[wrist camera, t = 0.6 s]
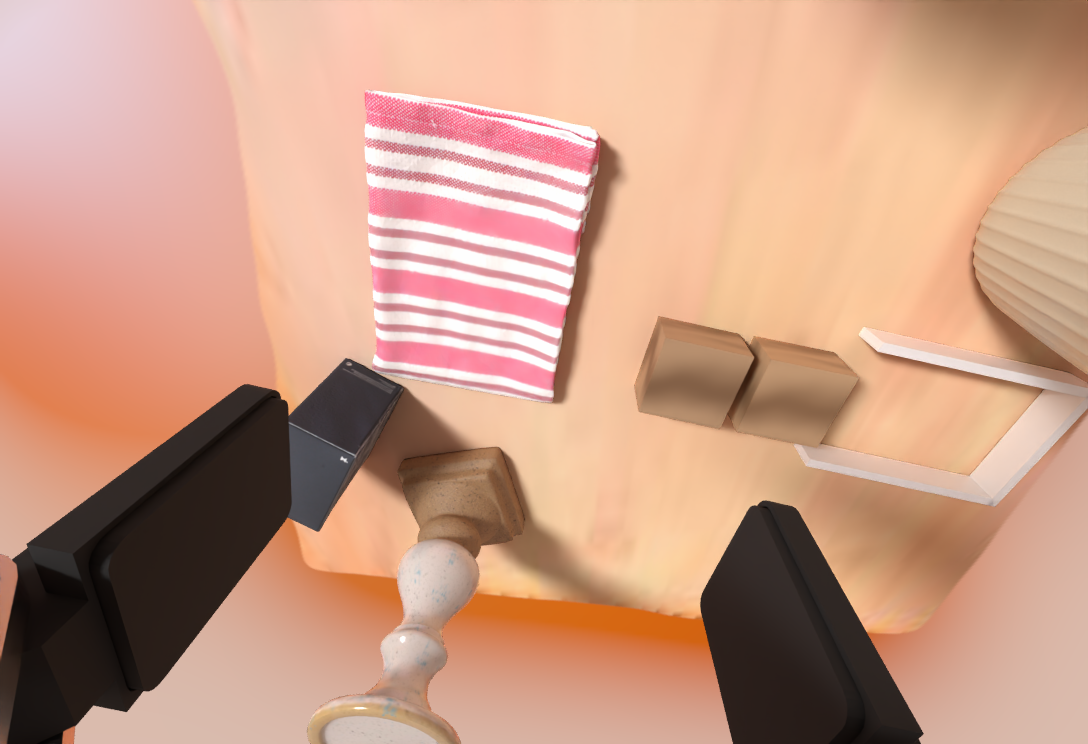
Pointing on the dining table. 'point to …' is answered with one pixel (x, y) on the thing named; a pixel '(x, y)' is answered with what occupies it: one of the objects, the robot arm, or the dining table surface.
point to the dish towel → (473, 240)
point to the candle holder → (428, 596)
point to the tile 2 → (791, 392)
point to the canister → (1042, 248)
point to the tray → (1011, 453)
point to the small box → (335, 437)
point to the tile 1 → (691, 372)
